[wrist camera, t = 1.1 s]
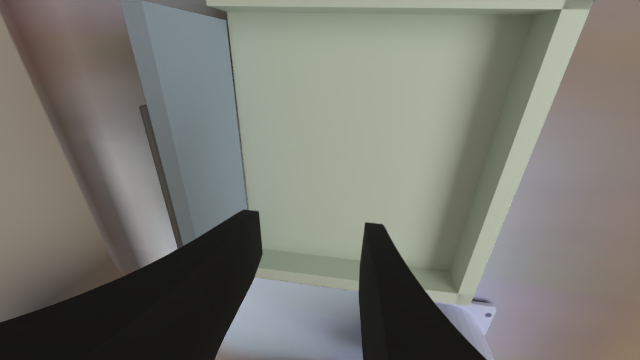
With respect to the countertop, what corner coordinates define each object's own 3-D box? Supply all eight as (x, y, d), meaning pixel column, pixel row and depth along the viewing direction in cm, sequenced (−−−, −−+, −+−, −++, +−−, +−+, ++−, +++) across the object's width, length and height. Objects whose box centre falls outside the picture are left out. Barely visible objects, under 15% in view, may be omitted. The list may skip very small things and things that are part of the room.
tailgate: (251, 245, 21) (212, 312, 15) (230, 242, 21) (185, 308, 16) (226, 20, 14) (141, 0, 9) (196, 19, 14) (95, 0, 9)
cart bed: (453, 268, 21) (469, 306, 18) (260, 245, 23) (244, 275, 20) (544, -5, 13) (602, -22, 10) (236, -6, 15) (203, -21, 12)
